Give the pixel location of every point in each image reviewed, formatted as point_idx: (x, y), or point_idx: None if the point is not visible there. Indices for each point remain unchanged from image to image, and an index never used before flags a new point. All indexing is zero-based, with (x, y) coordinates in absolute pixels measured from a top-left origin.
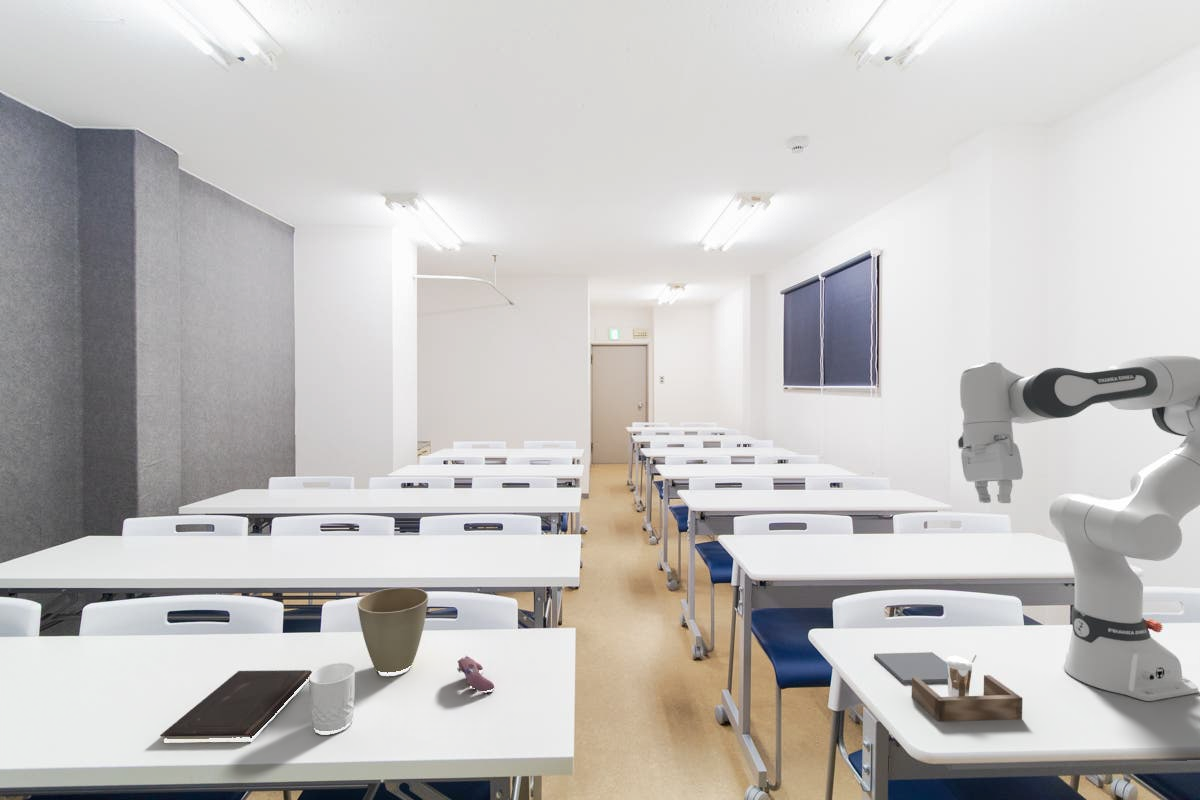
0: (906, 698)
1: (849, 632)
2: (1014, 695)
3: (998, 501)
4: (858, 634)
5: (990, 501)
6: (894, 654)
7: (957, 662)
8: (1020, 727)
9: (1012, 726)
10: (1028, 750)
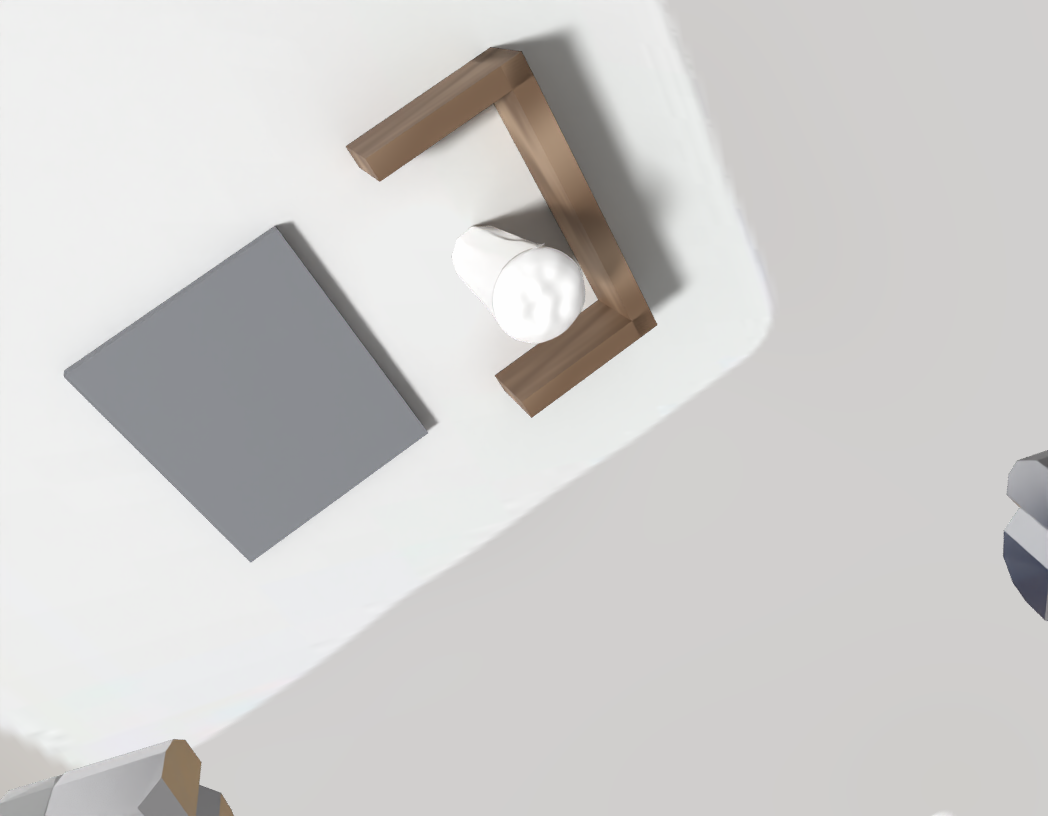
0: None
1: (32, 697)
2: (513, 79)
3: (1039, 589)
4: (28, 665)
5: (173, 746)
6: (206, 501)
7: (577, 304)
8: (553, 62)
9: (557, 88)
10: (681, 59)
